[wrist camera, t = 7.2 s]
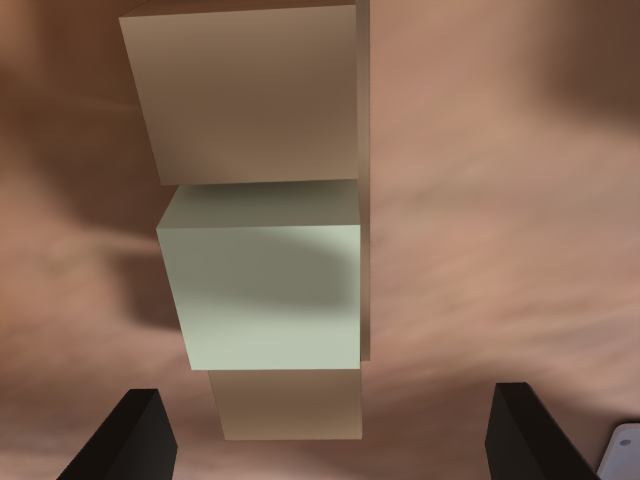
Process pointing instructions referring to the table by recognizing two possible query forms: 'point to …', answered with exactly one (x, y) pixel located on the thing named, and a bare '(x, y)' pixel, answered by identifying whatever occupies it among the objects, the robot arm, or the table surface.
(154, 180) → the table surface
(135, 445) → the robot arm
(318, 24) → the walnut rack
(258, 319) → the sage block
